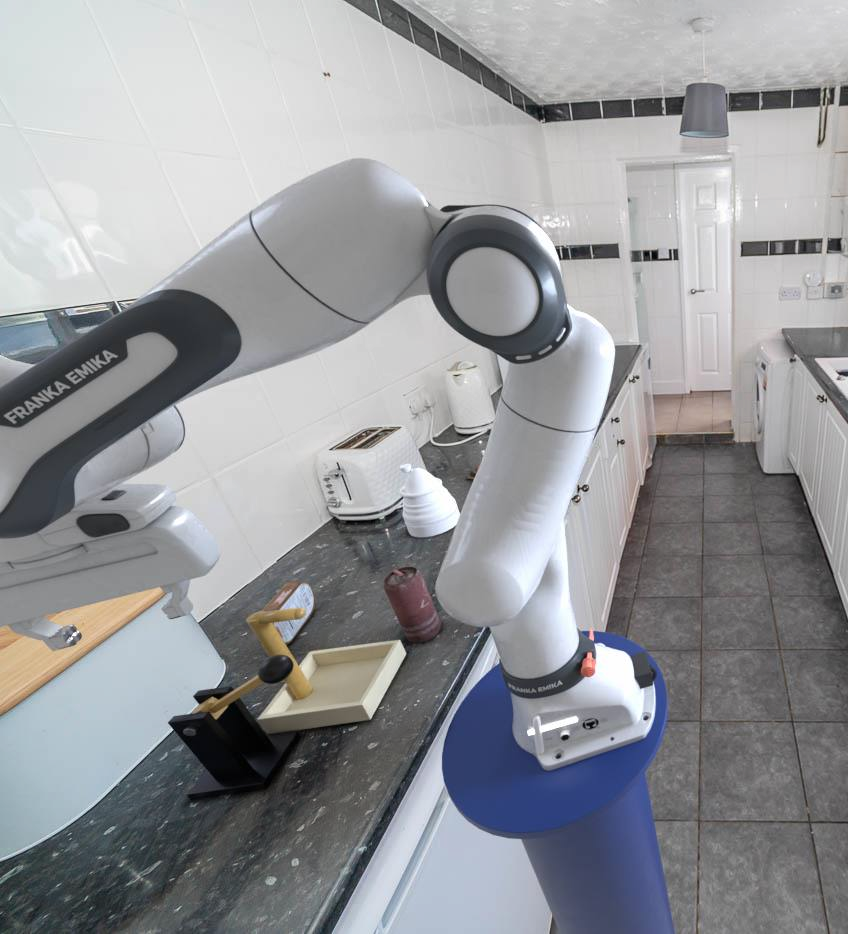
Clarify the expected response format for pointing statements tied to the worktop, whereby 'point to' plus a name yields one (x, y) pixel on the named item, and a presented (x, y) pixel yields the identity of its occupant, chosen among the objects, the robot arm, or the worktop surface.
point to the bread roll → (473, 472)
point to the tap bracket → (231, 748)
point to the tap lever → (251, 684)
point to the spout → (280, 644)
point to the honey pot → (427, 504)
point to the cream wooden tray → (336, 687)
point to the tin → (288, 598)
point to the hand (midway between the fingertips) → (127, 628)
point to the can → (412, 604)
